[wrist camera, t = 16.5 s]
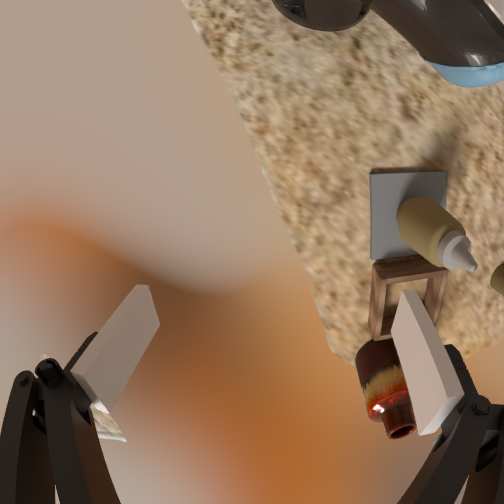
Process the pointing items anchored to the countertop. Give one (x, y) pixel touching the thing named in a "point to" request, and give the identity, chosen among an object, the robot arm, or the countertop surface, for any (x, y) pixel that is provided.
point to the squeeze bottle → (434, 234)
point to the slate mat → (388, 201)
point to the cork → (498, 279)
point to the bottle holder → (403, 273)
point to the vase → (385, 388)
